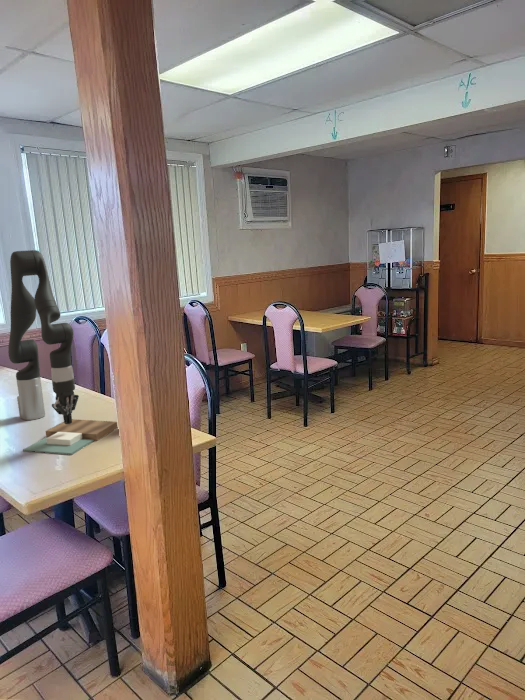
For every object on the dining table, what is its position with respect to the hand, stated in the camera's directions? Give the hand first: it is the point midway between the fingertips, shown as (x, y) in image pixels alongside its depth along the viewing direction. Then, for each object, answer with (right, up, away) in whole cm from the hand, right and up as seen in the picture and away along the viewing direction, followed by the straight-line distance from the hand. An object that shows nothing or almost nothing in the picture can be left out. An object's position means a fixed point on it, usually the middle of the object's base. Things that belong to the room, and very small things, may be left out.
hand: (68, 423), depth 191 cm
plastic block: (-1, -5, -2) cm, 6 cm away
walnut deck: (+2, -5, +8) cm, 10 cm away
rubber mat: (-1, -7, -5) cm, 9 cm away
